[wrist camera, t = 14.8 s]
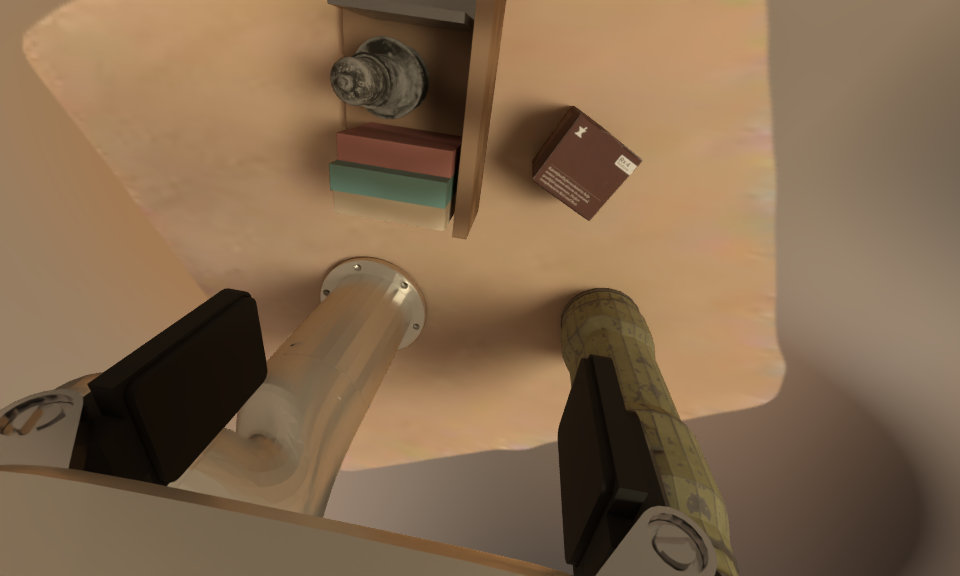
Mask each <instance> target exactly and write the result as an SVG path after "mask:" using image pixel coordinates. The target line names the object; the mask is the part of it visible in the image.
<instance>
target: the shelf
mask: <svg viewBox="0 0 960 576" xmlns="http://www.w3.org/2000/svg"><path fill="white" fill-rule="evenodd" d="M505 5H506V0H477V1H476V11H475V21H474V30H473V33H468V32H461V31H454V30H448V29H441V28H434V27H427V26H420V25H413V24H407V23H400V22H393V21H386V20H379V19H373V18H369V17H366V16H363V15H360V14H357V13H354V12H351V11H348V10H345V9H342V12H343V43H344V57H351V56H353V55H354V54H355V52H356V51H357V49H358V48H359V46H360V45H362V44H363V43H364V42H365V41H366V40H368V39H371V38H373V37H376V36H388V37H391V38H395V39H397V40H399V41H400V42H402V43H404V44H405V45H408V46H410V47H411V48H413V49H414V50H416V51H417V52H418V53H419V54H420V56H421V57H422V58H423V60H424V62H425V64H426V66H427V69H428V72H429V89H428V93H427V95H426V97H425V99H424V101H423V102H422V103H421V104H420V105H419V106H418V107H416V108H415V109H413V110H412V111H411V112H410V113H409V114H407V115H406V116H404V117H401V118H398V119H383V118H380V117H377V116H375V115H373V114H372V113H370V112H369V111H368V110H367V109H366V108H365V107H363V106H353V105H349V104H347V103H345V105H346V130H344V131H341V132H338V133H337V153H338V160H336V161H334V162H332V163H329V172H330V190H333V191H334V211H335V213H339V214H345V215H351V216H357V217H363V218H369V219H374V220H380V221H386V222H392V223H398V224H404V225H410V226H416V227H422V228H427V229H433V230H439V231H444V230H445V228H446V227H447V225H448V223H449V221H450V220H451V218H452V216H453V214H454V213H455V214H454V224H453V234H452V237H454V238H460V239H467V236H468V234H469V231H470V229H471V227H472V224H473V222H474V219H475V217H476V215H477V212H478V208H479V200H480V193H481V185H482V178H483V170H484V163H485V155H486V148H487V140H488V133H489V125H490V118H491V110H492V103H493V95H494V88H495V80H496V72H497V65H498V57H499V50H500V42H501V35H502V27H503V20H504V12H505Z"/></svg>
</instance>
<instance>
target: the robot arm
mask: <svg viewBox="0 0 960 576" xmlns="http://www.w3.org/2000/svg"><path fill="white" fill-rule="evenodd" d="M405 282H406V283H405ZM320 302H321V304H320V305H319V306H318V307H317V308H316V309H315V310H314V311H313V312H312V313H311V314H310V315H309V316H308V317H307V319H306V320H305V321H304V322H303V323H302V324H301V325H300V326H299V327H298V328H297V329H296V330H295V331H294V332H293V334H292V335H291V336H290V337H289V338H288V339H287V340H286V341H285V342H284V343H283V344H282V345H281V346H280V348H279V349H278V350H277V351H276V352H275V353H274V354H273V355H272V356H271V357H270V358H269V359H268V360H267V361H266V357H265V351H264V345H263V340H262V334H261V328H260V322H259V316H258V310H257V304H256V301H255V299H253V298H252V297H251V295H250V294H249V293H248V292H245V291H240V290H234V289H224V290H222V291H220V292H219V293H217V294H216V295H214V296H213V297H212V298H210V299H209V300H207V301H206V302H204V303H203V304H201V305H200V306H199V307H197V308H196V309H194V310H193V311H191V312H190V313H188V314H187V315H186V316H184V317H183V318H181V319H180V320H178V321H177V322H176V323H174V324H173V325H171V326H170V327H168V328H167V329H165V330H164V331H163V332H161V333H160V334H158V335H157V336H155V337H154V338H152V339H151V340H150V341H148V342H147V343H145V344H144V345H142V346H141V347H140V348H138V349H137V350H135V351H134V352H132V353H131V354H129V355H128V356H126V357H125V358H124V359H122V360H121V361H119V362H118V363H116V364H115V365H113V366H112V367H111V368H109V369H108V370H106V371H105V372H103V373H96V374H90V375H86V376H83V377H80V378H77V379H74V380H72V381H69V382H67V383H65V384H63V385H62V386H59V387H58V388H56V389H54V390H50V391H44V392H40V393H37V394H33V395H30V396H28V397H25V398H23V399H20V400H18V401H15V402H13V403H12V404H10V405H8V406H7V407H5V408H3V409H1V410H0V576H573V575H570V574H568V573H565V572H561V571H558V570H554V569H551V568H547V567H544V566H540V565H537V564H533V563H529V562H525V561H520V560H517V559H512V558H507V557H503V556H499V555H494V554H490V553H486V552H481V551H477V550H473V549H469V548H464V547H459V546H455V545H450V544H445V543H441V542H436V541H431V540H426V539H422V538H417V537H412V536H407V535H403V534H398V533H393V532H389V531H384V530H379V529H374V528H370V527H365V526H360V525H355V524H350V523H345V522H341V521H336V520H331V519H326V518H323V516H324V513H325V509H326V506H327V503H328V500H329V497H330V493H331V490H332V487H333V485H334V482H335V479H336V476H337V474H338V472H339V469H340V467H341V464H342V462H343V460H344V457H345V455H346V453H347V451H348V449H349V447H350V445H351V442H352V440H353V438H354V436H355V434H356V432H357V430H358V428H359V426H360V424H361V422H362V420H363V418H364V416H365V414H366V412H367V410H368V408H369V406H370V404H371V402H372V400H373V398H374V396H375V394H376V392H377V390H378V388H379V386H380V384H381V382H382V380H383V378H384V376H385V374H386V372H387V370H388V368H389V366H390V364H391V362H392V360H393V358H394V356H395V354H396V352H397V351H398V350H401V349H403V348H405V347H407V346H409V345H410V344H411V343H413V342H414V341H415V340H416V339H417V337H418V336H419V335H420V333H421V331H422V329H423V327H424V323H425V320H426V305H425V300H424V298H423V295H422V292H421V291H420V289H419V287H418V286H417V284H416V283H415V282H414V281H413V280H412V278H411V277H410V276H409V275H407V274H406V273H405V272H404V271H403V270H401V269H400V268H398V267H396V266H395V265H393V264H391V263H388V262H386V261H383V260H380V259H375V258H363V257H361V258H354V259H350V260H347V261H345V262H342V263H341V264H339V265H338V266H336V267H335V268H334V269H333V270H332V271H331V272H330V273H329V274H328V275H327V277H326V278H325V280H324V282H323V284H322V287H321V292H320ZM237 412H238V413H237ZM236 413H237V420H236V432H234V431H232V430H230V429H229V430H228V429H227V428H225V426H226V424H227V423H228V422H229V421H230V420H231V419H232V418H233V416H235V414H236ZM558 451H559V467H560V482H561V500H562V516H563V533H564V548H565V560H566V563H567V564H571V565H573V573H574V576H722V575H721V574H720V573H719V572H718V571H716V569H717V557H716V552H715V549H714V547H713V545H712V543H711V541H710V539H709V538H708V536H707V535H706V533H705V532H704V531H703V529H702V528H701V527H700V526H699V525H698V524H697V523H696V522H695V521H693V520H692V519H691V518H690V517H688V516H687V515H685V514H684V513H682V512H680V511H678V510H675V509H673V508H670V507H666V505H665V502H664V498H663V495H662V492H661V489H660V485H659V482H658V479H657V475H656V472H655V469H654V465H653V462H652V459H651V455H650V452H649V449H648V445H647V442H646V439H645V435H644V432H643V429H642V425H641V422H640V419H639V416H638V414H637V413H636V412H635V411H631V410H626V408H625V404H624V400H623V397H622V393H621V389H620V385H619V382H618V378H617V374H616V371H615V367H614V363H613V360H612V358H611V357H605V356H600V355H594V354H590V355H589V356H588V359H587V358H582V359H581V361H580V363H579V366H578V369H577V372H576V376H575V379H574V382H573V385H572V388H571V391H570V394H569V397H568V400H567V403H566V406H565V409H564V412H563V415H562V418H561V422H560V425H559V429H558Z"/></svg>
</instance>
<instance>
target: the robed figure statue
mask: <svg viewBox="0 0 960 576" xmlns="http://www.w3.org/2000/svg"><path fill="white" fill-rule="evenodd" d="M561 346H562V356H563V359H564V362H565V364H566V367H567V369H568V370H569V372H570V379H571V387H572V385H573V382H574V379H575V376H576V372H577V369H578V366H579V363H580V361H581V359H582V358H587V359H588V356H589V355H590V354H594V355H600V356H605V357H611V358H612V360H613V363H614V367H615V371H616V374H617V378H618V382H619V385H620V389H621V393H622V397H623V400H624V404H625V408H626V410H631V411H635V412H636V413H637V414H638V416H639V419H640V422H641V425H642V429H643V432H644V435H645V439H646V442H647V445H648V449H649V452H650V455H651V459H652V462H653V465H654V469H655V472H656V475H657V479H658V482H659V485H660V489H661V492H662V495H663V498H664V502H665V505H666V507H670V508H673V509H675V510H678V511H680V512H682V513H684V514H685V515H687V516H688V517H690V518H691V519H692V520H693V521H695V522H696V523H697V524H698V525H699V526H700V527H701V528H702V529H703V531H704V532H705V533H706V535H707V536H708V538H709V539H710V541H711V543H712V545H713V547H714V549H715V552H716V557H717V569H716V571H718V572H719V573H720V574H721V575H722V576H738V573H739V570H738V565H737V561H736V558H735V556H734V553H733V551H732V548H731V546H730V535H729V521H728V515H727V510H726V506H725V503H724V501H723V499H722V496H721V494H720V492H719V489H718V487H717V485H716V482H715V480H714V478H713V476H712V473H711V471H710V469H709V467H708V464H707V462H706V460H705V458H704V455H703V453H702V451H701V448H700V446H699V444H698V442H697V440H696V437H695V436H694V434H693V433H692V432H691V431H690V429H689V428H688V427H687V426H686V425H685V424H684V423H683V422H682V421H681V420H680V417H679V415H678V412H677V410H676V408H675V405H674V403H673V400H672V398H671V396H670V393H669V391H668V388H667V386H666V384H665V381H664V379H663V377H662V374H661V372H660V369H659V367H658V365H657V362H656V360H655V346H654V342H653V338H652V335H651V333H650V330H649V328H648V326H647V324H646V321H645V319H644V318H643V316H642V315H641V314H640V312H639V309H638V307H637V305H636V304H635V303H634V302H633V300H632V299H631V298H630V297H629V296H627V295H625V294H624V293H622V292H621V291H617V290H613V289H609V288H595V289H592V290H588V291H585V292H582V293H581V294H579V295H578V296H576V297H574V298H573V299H572V300H571V301H570V302H569V303H568V304H567V306H566V307H565V309H564V311H563V314H562V316H561Z"/></svg>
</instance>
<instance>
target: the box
mask: <svg viewBox="0 0 960 576" xmlns="http://www.w3.org/2000/svg"><path fill="white" fill-rule="evenodd" d="M641 162H642V159H641V158H640V157H638V156H637V155H636V154H635V153H633V152H632V151H631V150H629V149H628V148H627V147H626V146H625V145H623V144H622V143H621V142H620V141H618V140H617V139H616V138H615V137H614V136H612V135H611V134H610V133H609V132H608V131H606V130H605V129H604V128H603V127H602V126H600V125H599V124H598V123H596V122H595V121H594V120H592V119H591V118H590V117H589V116H587V115H586V114H584V113H583V112H582V111H580V110H579V109H578V108H576V107H575V106H572V107H571V108H570V109H569V111H568V112H567V114H566V115H565V116H564V118H563V119H562V120H561V122H560V123H559V125H558V126H557V128H556V129H555V130H554V132H553V133H552V134H551V136H550V137H549V139H548V140H547V141H546V143H545V144H544V145H543V147H542V148H541V150H540V151H539V152H538V154H537V155H536V157H535V158H534V160H533V161H532V164H533V165H532V167H533V181H535V182H536V183H537V184H538V185H540V186H541V187H542V188H544V189H545V190H546V191H548V192H549V193H550V194H552V195H553V196H555V197H556V198H557V199H559V200H560V201H561V202H563V203H564V204H566V205H567V206H568V207H570V208H571V209H573V210H574V211H575V212H577V213H578V214H579V215H581V216H582V217H584V218H585V219H587V220H588V221H590V220H591V219H592V218H593V217H594V215H595V214H596V213H597V212H598V211H599V210H600V209H601V207H602V206H603V205H604V204H605V203H606V202H607V200H608V199H609V198H610V197H611V196H612V195H613V194H614V193H615V191H616V190H617V189H618V188H619V187H620V186H621V185H622V183H623V182H624V181H625V180H626V179H627V178H628V177H629V176H630V175H631V173H632V172H633V171H634V170H635V169H636V168H637V167H638V166H639V164H640V163H641Z"/></svg>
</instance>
